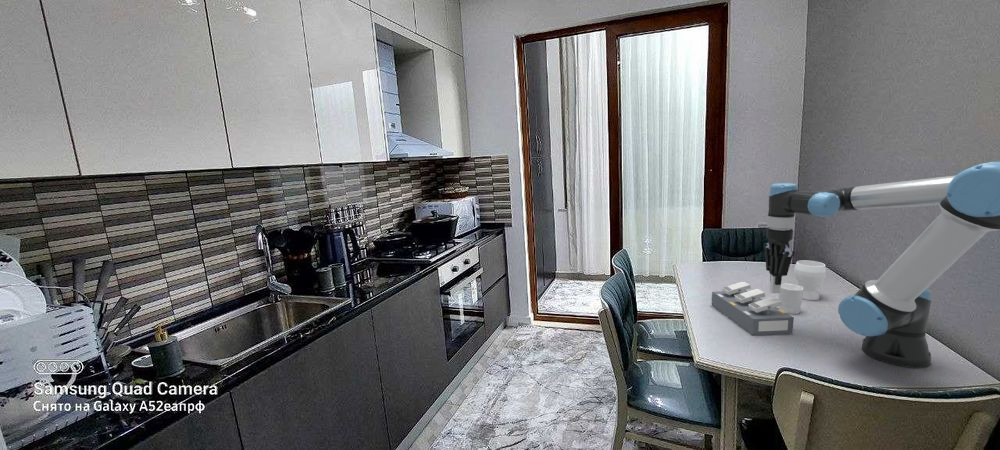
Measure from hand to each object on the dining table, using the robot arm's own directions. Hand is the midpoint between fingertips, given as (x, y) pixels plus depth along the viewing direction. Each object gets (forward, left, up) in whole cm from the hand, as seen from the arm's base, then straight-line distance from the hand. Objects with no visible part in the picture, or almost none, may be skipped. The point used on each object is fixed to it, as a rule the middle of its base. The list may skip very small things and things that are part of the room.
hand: (774, 292), depth 142 cm
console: (+9, +3, -13) cm, 16 cm away
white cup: (+14, -16, -14) cm, 25 cm away
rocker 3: (0, +3, -4) cm, 6 cm away
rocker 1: (+18, +3, -4) cm, 19 cm away
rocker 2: (+9, +3, -4) cm, 10 cm away
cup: (+27, -33, -14) cm, 44 cm away
